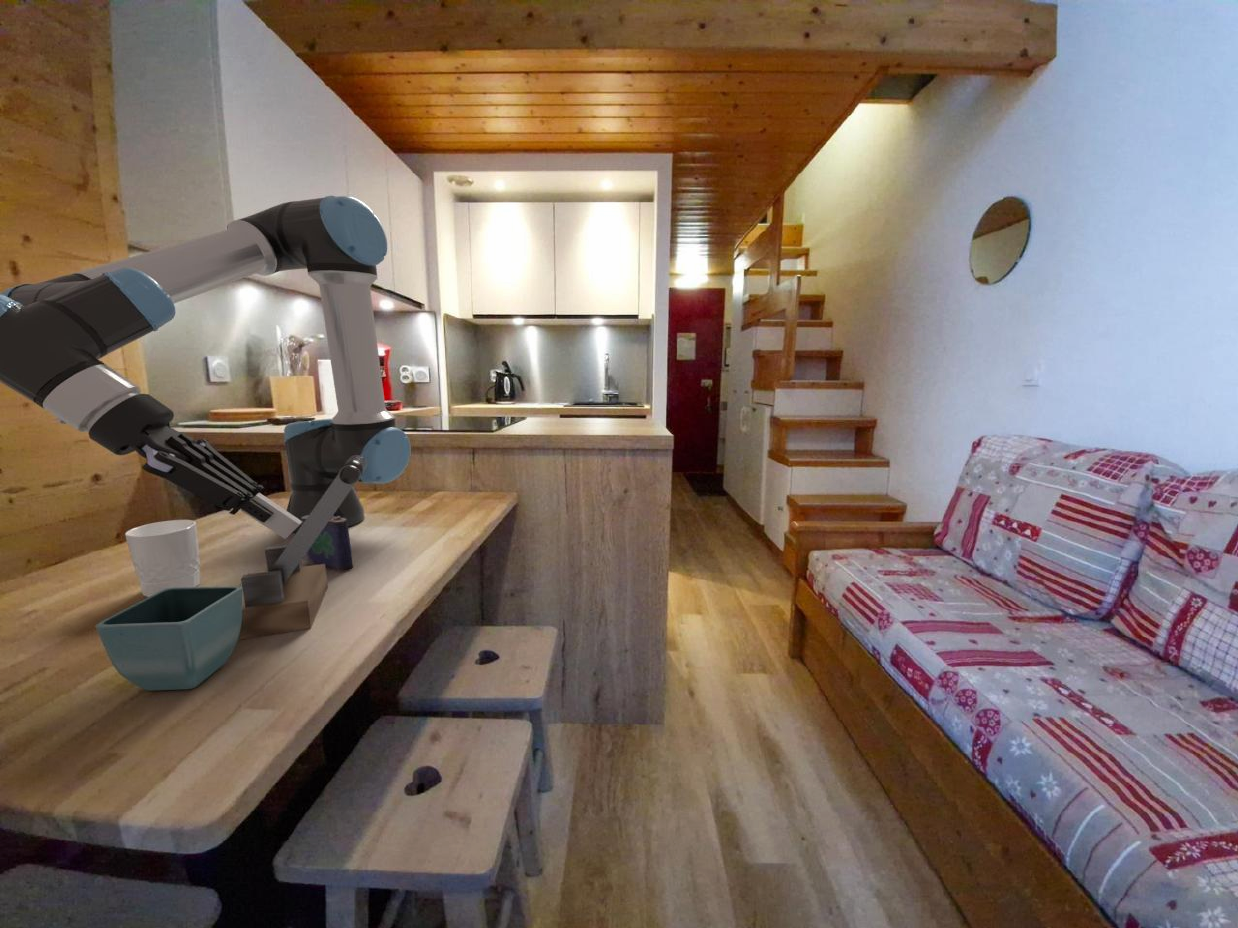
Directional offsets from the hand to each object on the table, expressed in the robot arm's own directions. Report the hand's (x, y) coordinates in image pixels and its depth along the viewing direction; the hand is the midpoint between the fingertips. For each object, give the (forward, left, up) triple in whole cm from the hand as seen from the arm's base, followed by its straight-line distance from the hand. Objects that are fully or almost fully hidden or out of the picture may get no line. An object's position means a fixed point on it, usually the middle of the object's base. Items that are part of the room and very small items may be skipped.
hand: (293, 530), depth 67 cm
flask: (-15, -6, -12) cm, 20 cm away
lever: (+1, -3, -7) cm, 8 cm away
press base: (+1, -3, -12) cm, 12 cm away
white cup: (-5, -25, -12) cm, 28 cm away
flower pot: (+16, -2, -12) cm, 20 cm away
